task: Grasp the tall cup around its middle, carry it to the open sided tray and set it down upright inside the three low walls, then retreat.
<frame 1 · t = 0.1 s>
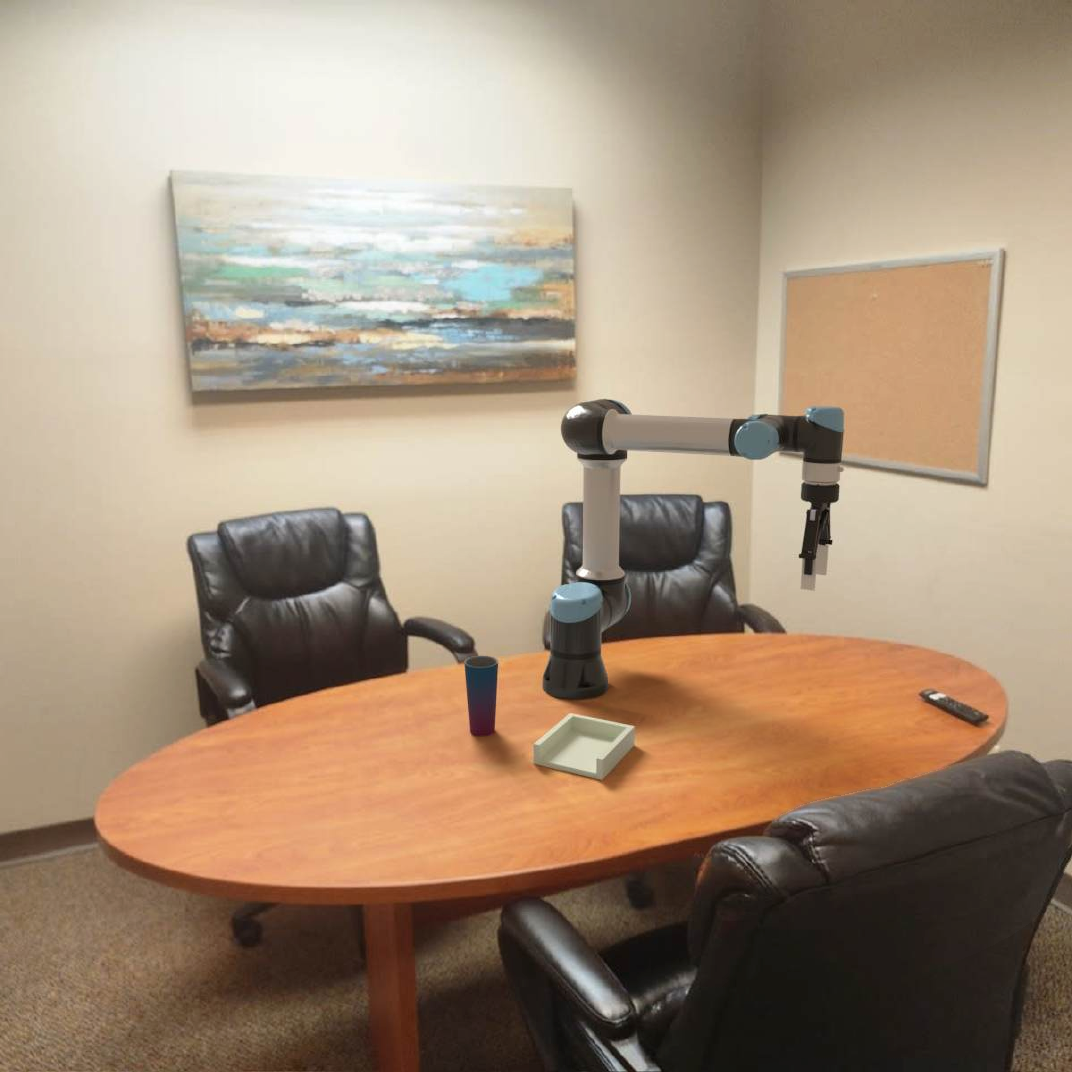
hand: (813, 581, 187), 28 cm above the table, fingers open, 13 cm apart
open sided tray: (585, 754, 170), on the table
cup: (482, 731, 180), on the table
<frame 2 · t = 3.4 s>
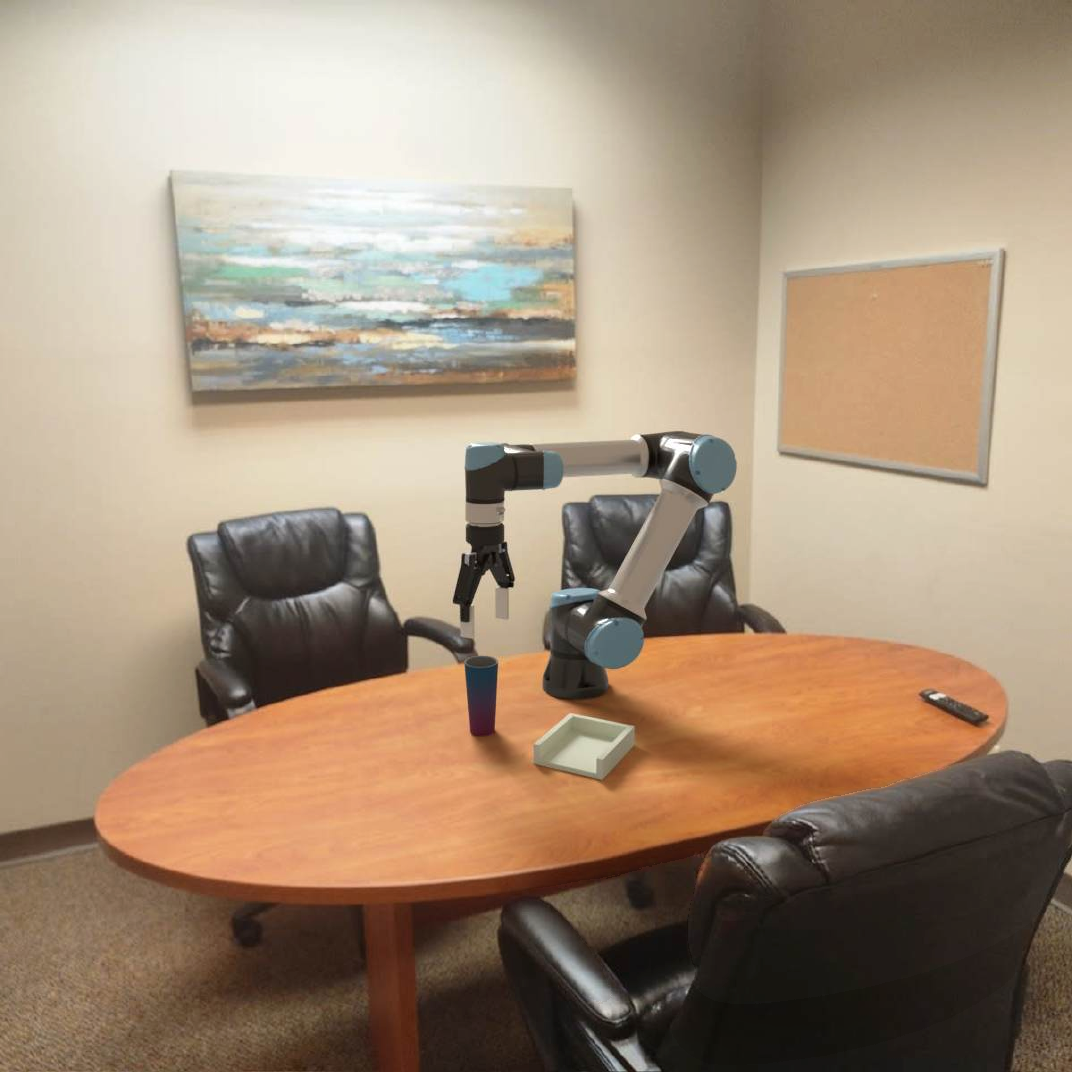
hand: (485, 627, 176), 22 cm above the table, fingers open, 13 cm apart
nothing on the table moved.
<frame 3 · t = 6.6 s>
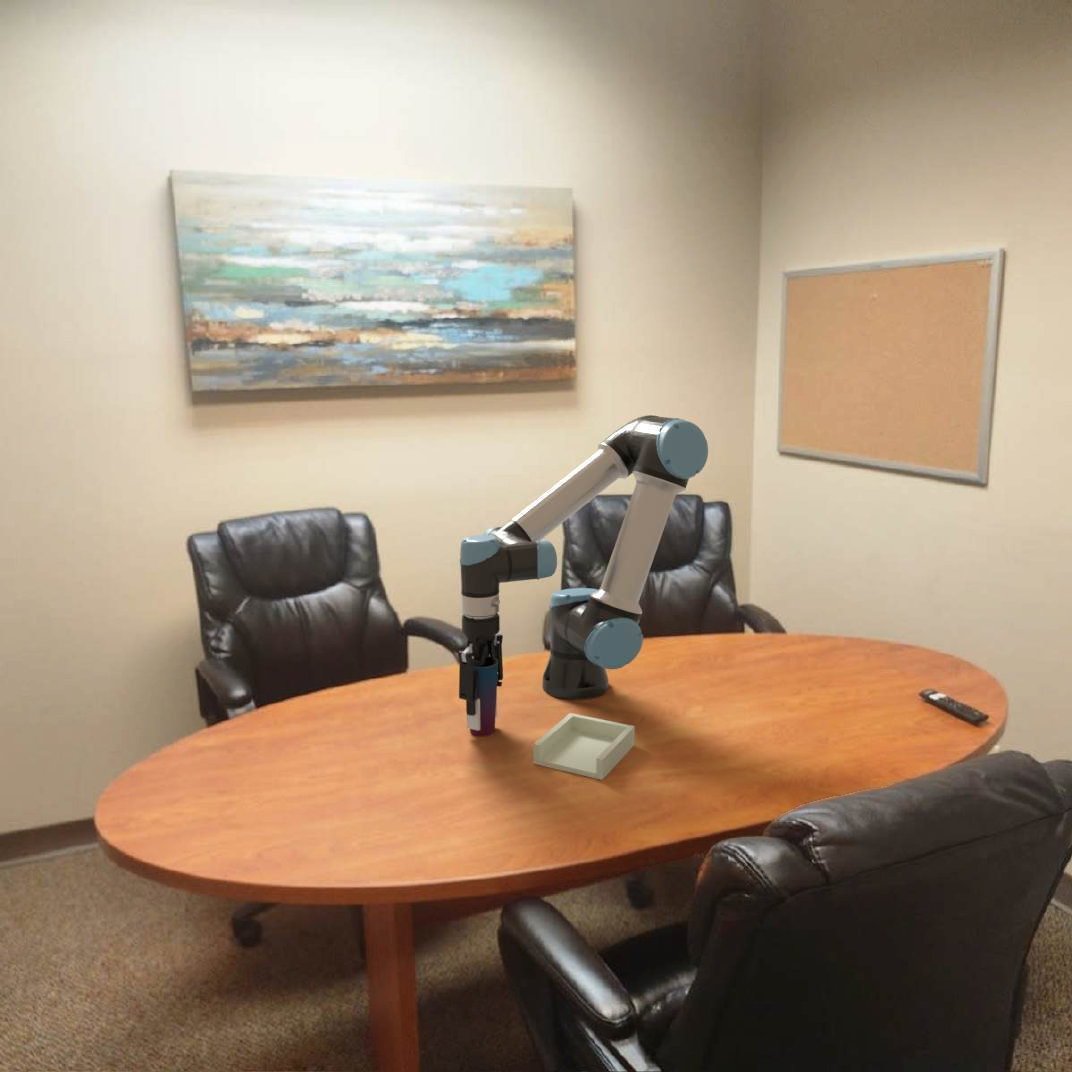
hand: (482, 722, 180), 2 cm above the table, fingers closed on cup, 6 cm apart
cup: (482, 731, 180), on the table, touching gripper
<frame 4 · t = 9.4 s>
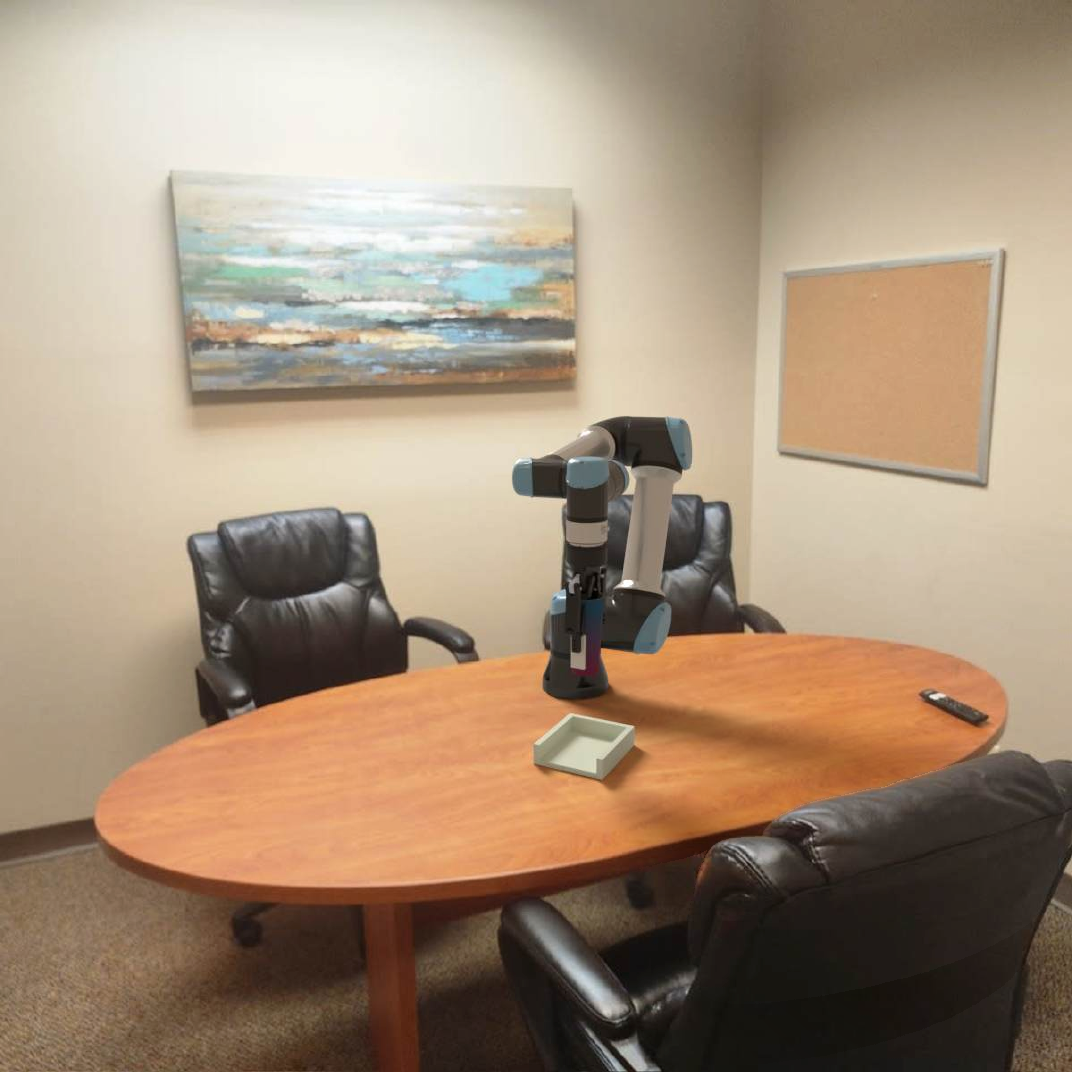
hand: (585, 662, 166), 19 cm above the table, fingers closed on cup, 6 cm apart
cup: (585, 672, 167), point 17 cm above the table, touching gripper
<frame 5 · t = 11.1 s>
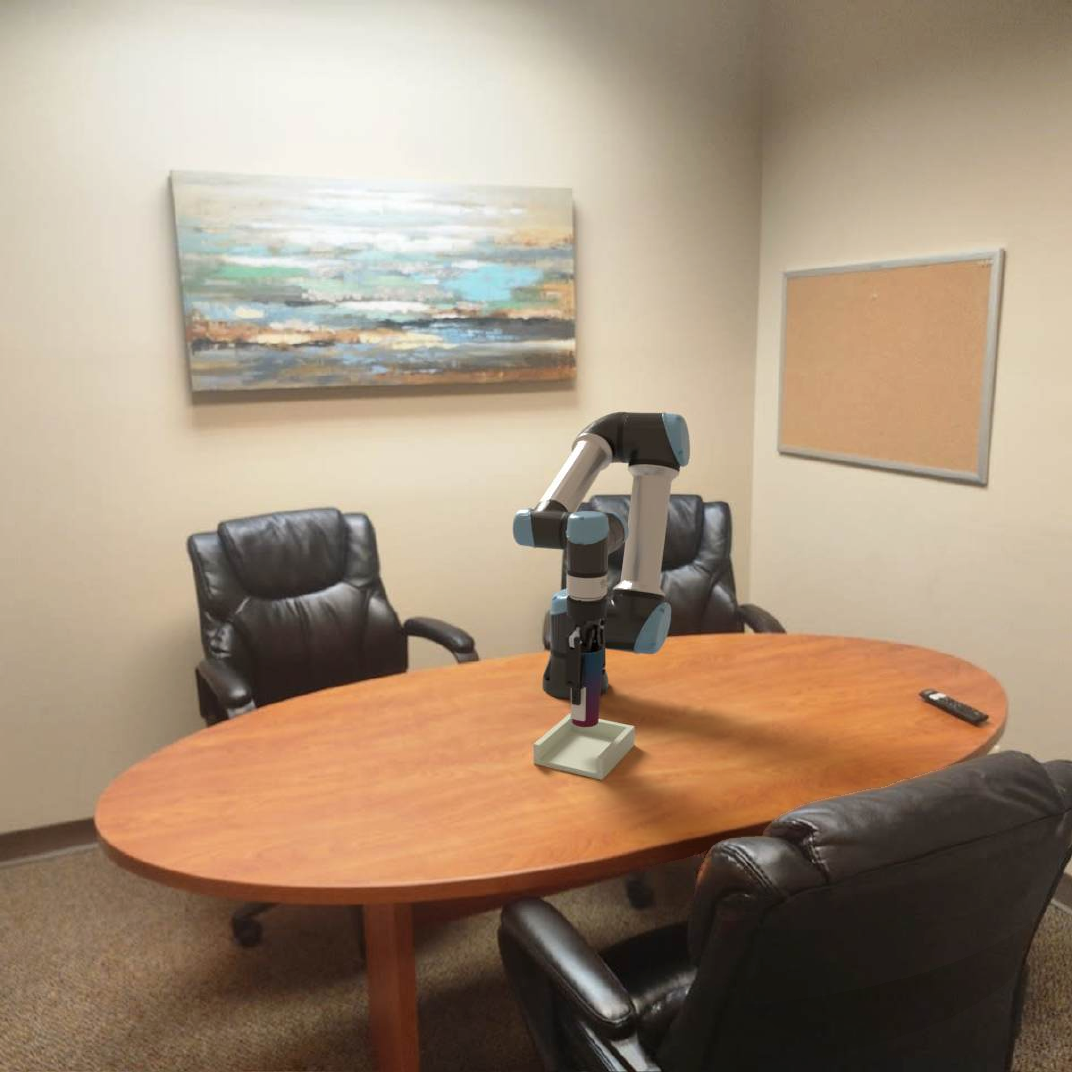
hand: (585, 712, 168), 9 cm above the table, fingers closed on cup, 6 cm apart
cup: (585, 722, 169), point 7 cm above the table, touching gripper
when the fingers open (5 cm above the table, at t = 12.5 s): cup drops 2 cm, resting on open sided tray.
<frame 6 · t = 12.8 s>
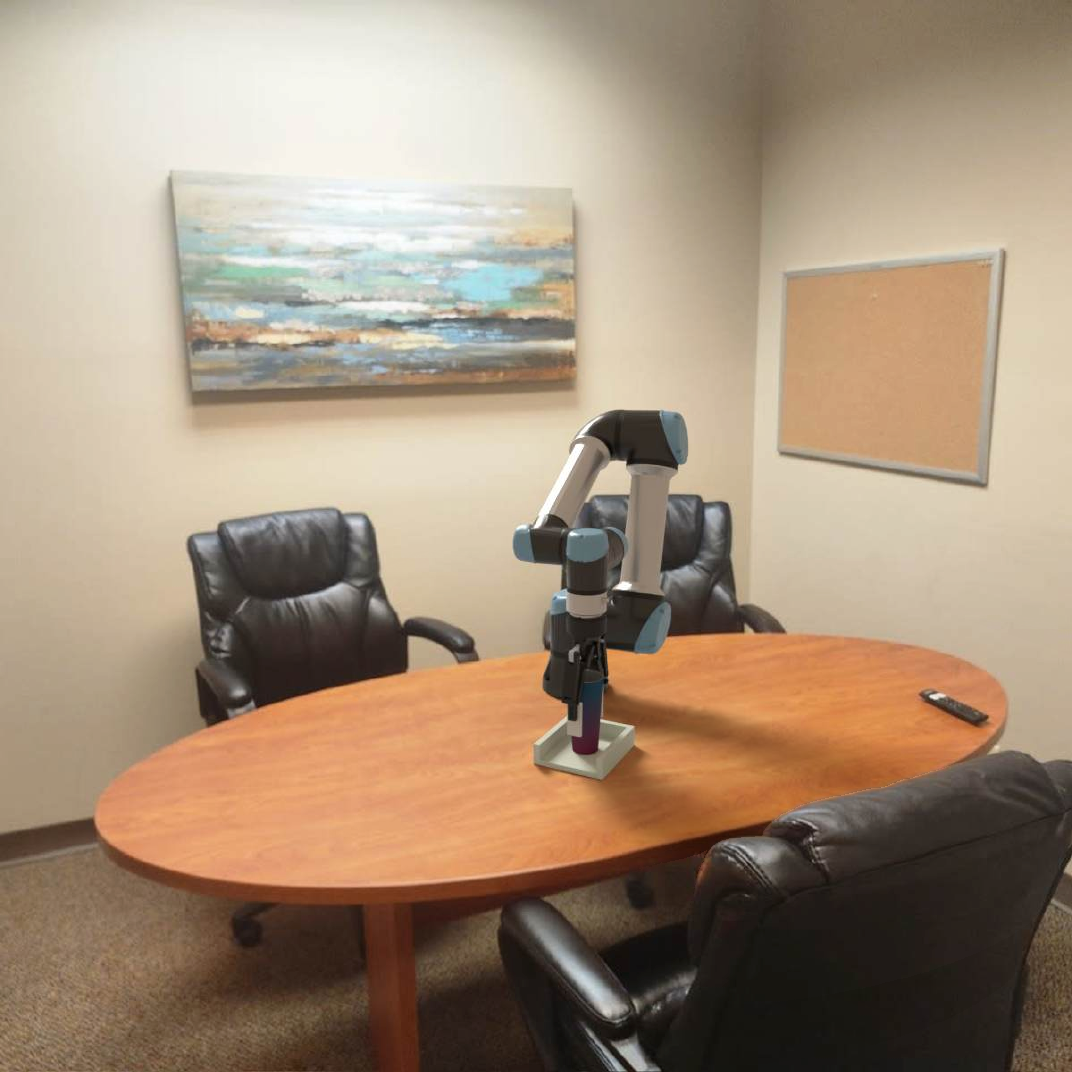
hand: (585, 725, 169), 6 cm above the table, fingers open, 9 cm apart
cup: (585, 750, 170), point 1 cm above the table, touching open sided tray
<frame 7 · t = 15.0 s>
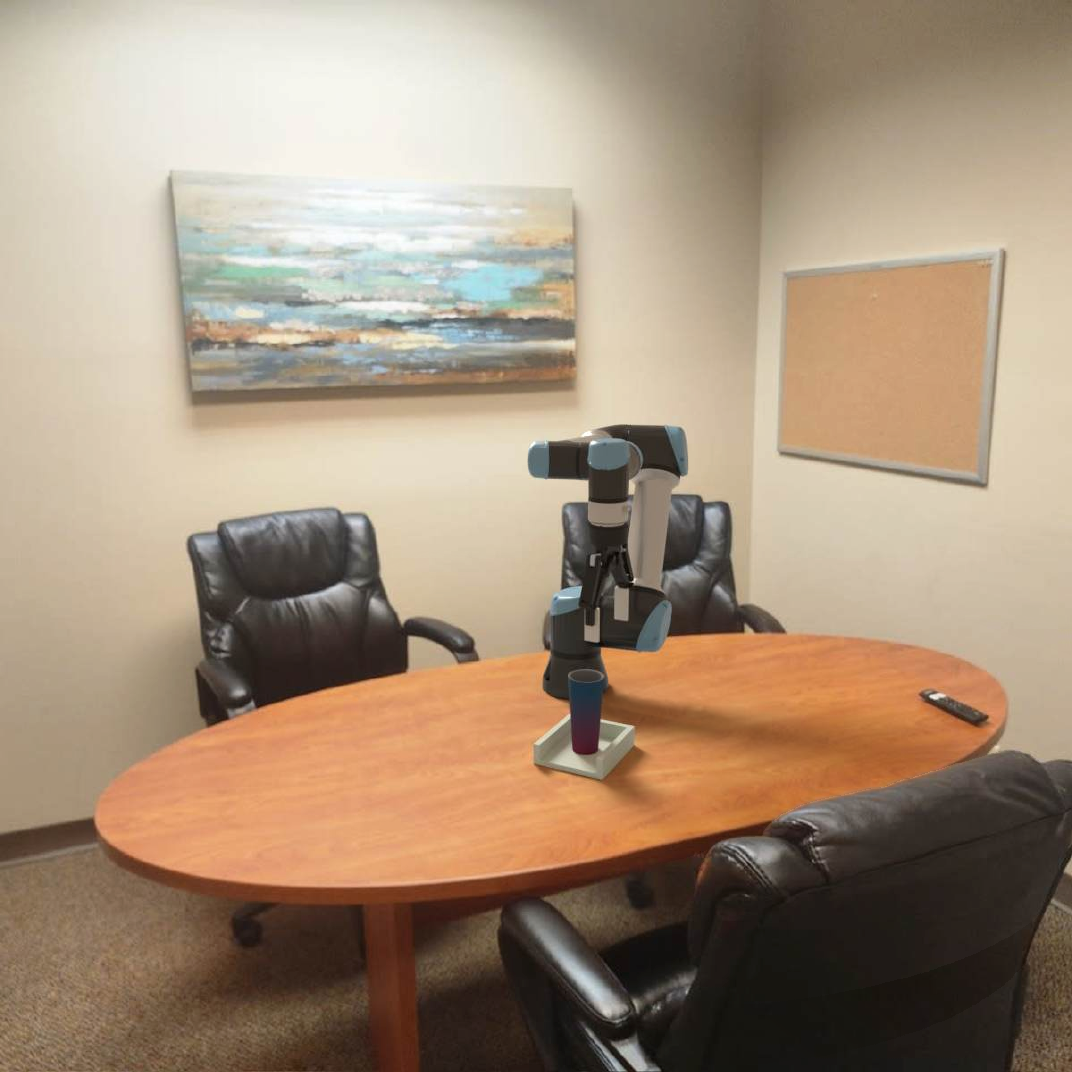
hand: (607, 630, 170), 23 cm above the table, fingers open, 13 cm apart
nothing on the table moved.
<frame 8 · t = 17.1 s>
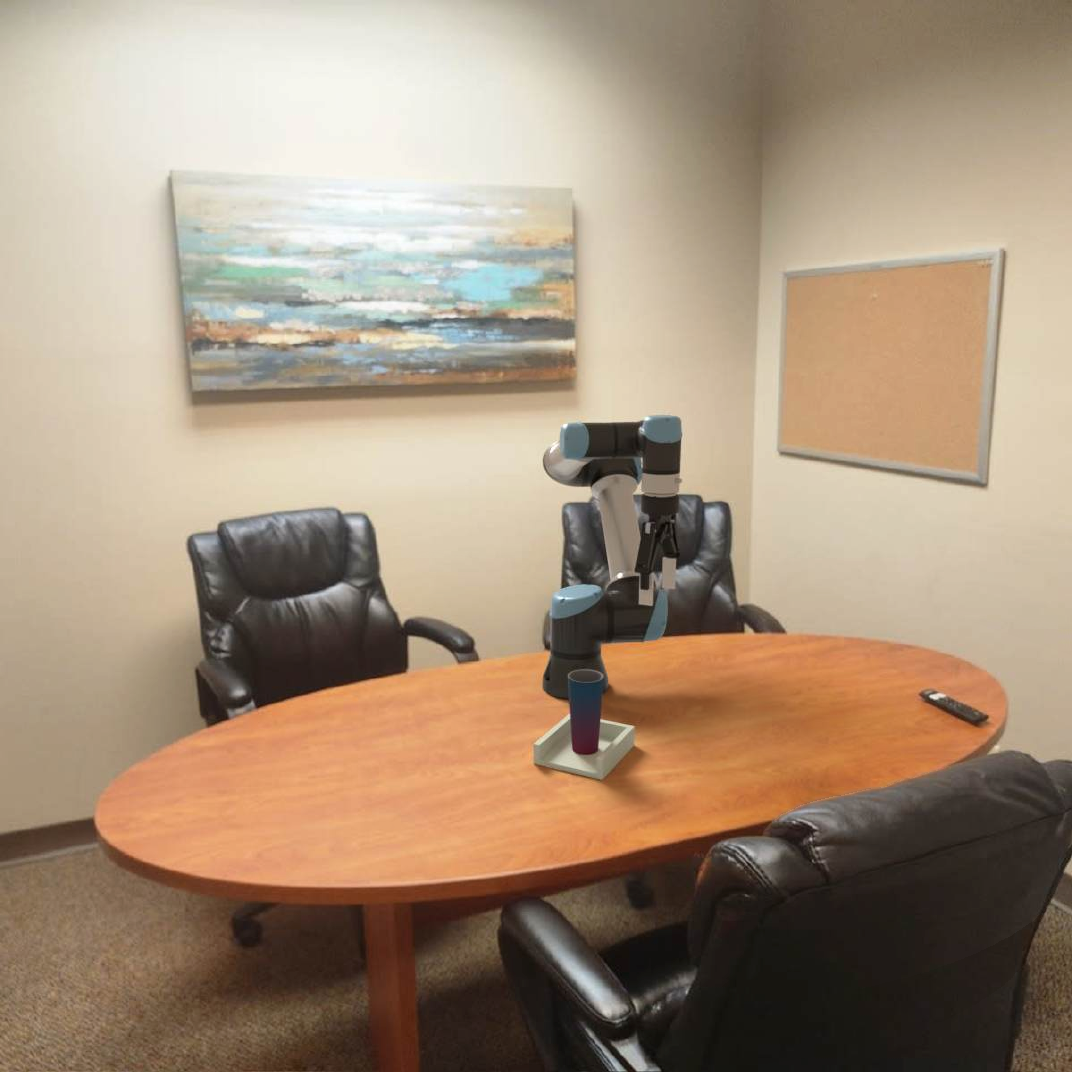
hand: (657, 596, 181), 27 cm above the table, fingers open, 13 cm apart
nothing on the table moved.
at the end: cup inside the target area on the open sided tray (0.6 cm from its centre), point 0.8 cm above the open sided tray's base; cup tilted 0°; the gripper is holding nothing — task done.
